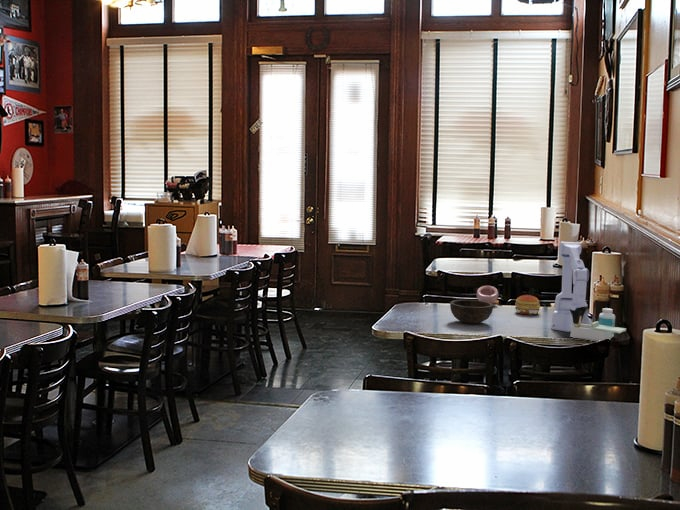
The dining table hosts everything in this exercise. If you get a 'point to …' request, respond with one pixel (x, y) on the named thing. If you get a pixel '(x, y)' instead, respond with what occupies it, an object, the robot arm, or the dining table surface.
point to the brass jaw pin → (578, 324)
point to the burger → (527, 304)
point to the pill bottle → (607, 318)
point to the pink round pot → (487, 294)
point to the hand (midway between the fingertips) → (577, 323)
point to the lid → (606, 328)
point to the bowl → (471, 310)
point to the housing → (589, 333)
